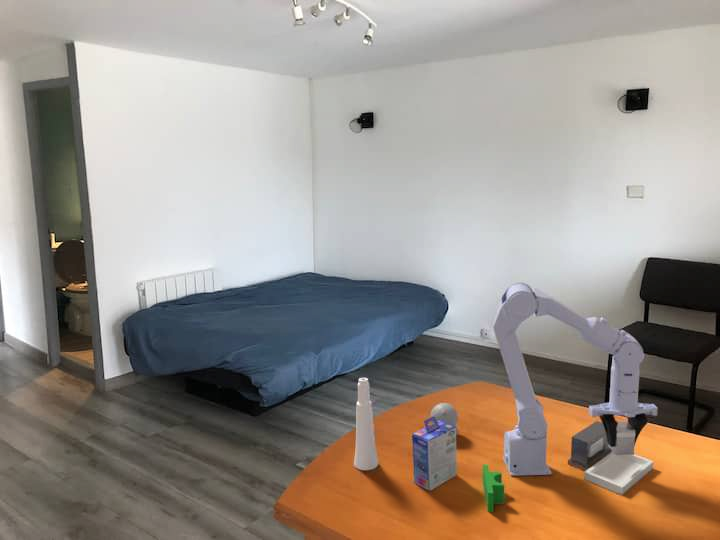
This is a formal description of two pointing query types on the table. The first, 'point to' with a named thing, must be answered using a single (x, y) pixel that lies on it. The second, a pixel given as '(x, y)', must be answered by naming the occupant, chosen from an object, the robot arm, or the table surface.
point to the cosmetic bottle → (365, 430)
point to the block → (624, 439)
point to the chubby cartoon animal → (445, 414)
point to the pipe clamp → (492, 488)
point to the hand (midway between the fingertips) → (620, 444)
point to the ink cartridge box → (434, 454)
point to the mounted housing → (589, 446)
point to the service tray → (618, 471)
